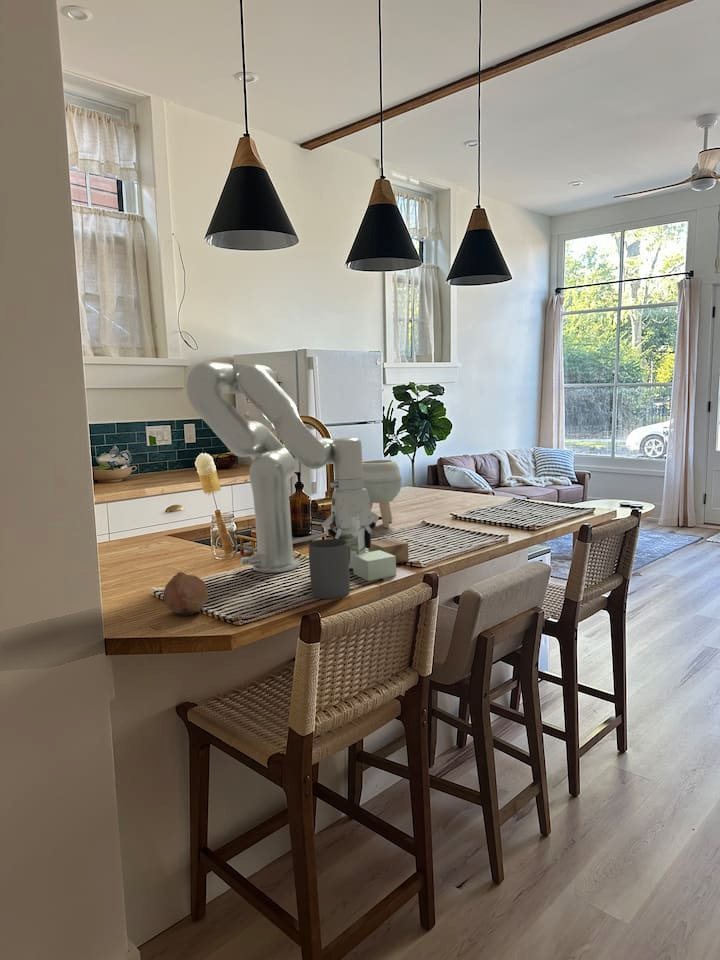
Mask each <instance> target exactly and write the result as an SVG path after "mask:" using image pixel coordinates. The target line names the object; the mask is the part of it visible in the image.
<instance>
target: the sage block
mask: <svg viewBox="0 0 720 960" xmlns="http://www.w3.org/2000/svg"><path fill="white" fill-rule="evenodd" d="M365 552H366V551H365ZM352 570H353V574H354V575H355V576H358V577H360V578H362V579H364V580H366V581H368V582H371V581H375V580H380V579H386V578H390V577H395V576H397V563H396V556H394V555H391V554H389V553H386V552H383V551H381V550H378V551H372V552H369V551H367V552H366V553H361V554H355V555H353V569H352Z"/></svg>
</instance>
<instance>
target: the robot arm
mask: <svg viewBox="0 0 720 960" xmlns="http://www.w3.org/2000/svg"><path fill="white" fill-rule="evenodd" d="M222 394H229V395H230V394H232V395H243V396H245V397H246V398H247V400H248V401H249V402H250V403H251V404H252V405H253V406H254V407H255V408H256V410H257V411H258V412H260V413H261V414H262V416H263V417H264V418H265V419H266V421H268V422H269V423H270V425H271V426H272V428H273V430H274V432H275V433H276V435H277V436H278V437H276V435H275V434H274V433H273V432H272V430H271V429H269V428H268V427H267V426H266V425H265V424H263V423H261V422H259V421H256V420H247V419H246V418H245V417H244V416H243V415H242V414H241V413H240V412H239V411H238V410H237V408H236V407H235V406H234V405H233V404H232V403H231V402H229V400H228V399H226V398H225V397H224V396H223V395H222ZM186 395H187V398H188V402H189V403H190V405H191V407H192V408H193V410H194V411H195V412H196V414H197V415H198V416H199V417H200V418H201V419H202V420H203V421H204V423H205V424H206V425H207V426H208V427H209V428H210V429H211V430H212V432H213V433H214V434H215V435H216V436H217V437H218V438H219V439H220V440H221V442H222V443H223V444H224V445H225V446H226V448H227V449H228V450H229V451H230V452H231V453H232V455H233V454H234V455H235V456H237V457H240V458H248V457H249V458H251V460H252V461H251V464H250V466H249V474H248V475H249V480H250V486H251V491H252V497H253V499H252V500H253V507H254V518H255V520H254V521H255V532H256V535H255V536H256V548H257V551H256V550H255V551H254V553H253V554H252V555H251V556H246V557H240V564H241V565H242V566H243V565H248V566H252V569H253V571H256V572H258V573H262V574H263V573H264V574H274V573H275V574H276V573H283V572H289V571H292V570H294V569H297V568H298V567H299V566H300V560H299V559H297V558H295V557H294V551H293V550H294V549H293V533H292V520H291V519H292V518H291V505H290V504H291V503H290V496H289V495H290V494H289V491H288V490H289V489H288V485H287V481H289V480H290V479H291V478H292V477H294V474H295V472H296V460H297V461H298V462H299V463H300V464H301V465H303V466H304V467H305V468H307V469H311V470H318V469H320V468H323V467H325V466H328V465H332V464H333V474H334V475H333V476H334V477H333V478H334V479H333V482H330V483H329V485H330V488H332V489H333V488H334V490H333V491H332V496H331V503H330V504H331V508H330V512H331V513H330V516H328V517H327V518H326V519H325V520H324V522H322V523H321V526H322V528H323V529H324V530H325V532H326V533H327V534H328V535H329V536H331V537H332V539H341V538H340V535H341V533H342V531H343V530H345V529H350V528H352V525H351V518H352V517H353V516H357V515H359V517H360V518H359V519H360V527H364V530H365V549H368V548H370V544H371V542H372V541H371V534H372V533H373V530H374V528H375V527H376V524H377V523H378V521H379V519H380V516H379V515H377V514H376V513H374V512H373V511H372V509H371V508H370V501H369V497H368V492H367V489H366V488H363V467H362V461H363V451H362V450H363V449H362V448H363V447H362V446H363V445H362V441H361V440H360V438H358V437H340V438H330V437H329V438H328V437H316V436H315V435H314V434H313V433H312V432H311V431H310V430H309V429H308V427H307V426H306V425H305V423H304V422H303V421H302V419H301V417H300V414H299V411H298V407H297V403H295V401H294V399H292V398H291V397H290V396H289V394H288V393H287V392H286V391H285V390H284V389H283V387H281V385H279V383H278V378H277V375H276V374H275V372H274V371H273V369H272V368H270V367H269V366H268V365H267V366H266V365H264V364H257V363H255V364H254V363H251V364H250V363H249V364H245V363H243V364H242V363H232V362H219V361H203V362H200V363H197V364H196V365H195V366H193V367H192V368H191V370H190V371H189V374H188V377H187V380H186ZM278 438H279V439H280V440H279V439H278ZM294 457H295V458H294ZM295 459H296V460H295ZM331 525H332V527H333V529H332V528H331ZM341 540H342V539H341Z"/></svg>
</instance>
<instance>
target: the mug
mask: <svg viewBox="0 0 720 960" xmlns="http://www.w3.org/2000/svg"><path fill="white" fill-rule="evenodd" d="M308 558H309V559H308V562H309V574H310V575H309V578H310V579H309V580H310V588H311V595H312V596H313V597H315V598H316V599H317V598H318V599H324V600H325V599H326V600H330V599H333V600H334V599H339V598H342V597H345V596H348V594H349V593H350V591H351V590H350V589H351V587H350V586H351V585H350V584H351V583H350V569H349V564H350V548H349V546H348V544H347V542H346V541H345V540H341V539H333V538H325V539H318V540H314V541H311V542H310V543H309V544H308Z"/></svg>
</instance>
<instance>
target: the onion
mask: <svg viewBox="0 0 720 960" xmlns="http://www.w3.org/2000/svg"><path fill="white" fill-rule="evenodd" d="M162 593H163V595H162V597H163V601H164V604H165V606H166V607H167V609H169V610H170V611H171V612H173V613H174V614H177V615H179V616H183V617H186V616H193V614H197V613H198V612H200V611H201V610H202V608H203V607H204V606H205V605H207V603H208V601H209V597H208V596H209V595H208V587H207V586H206V584H205V582H204V581H203V580H202V578H200V577H199V576H196V575H193V574H186V573H184V572H182V571H180V572H179V571H178V572H177V573H176V574H175V575H173V576H172V578H170V580H169V581H168V582H167V584H166V585H165V587H164V590H163V592H162Z"/></svg>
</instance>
